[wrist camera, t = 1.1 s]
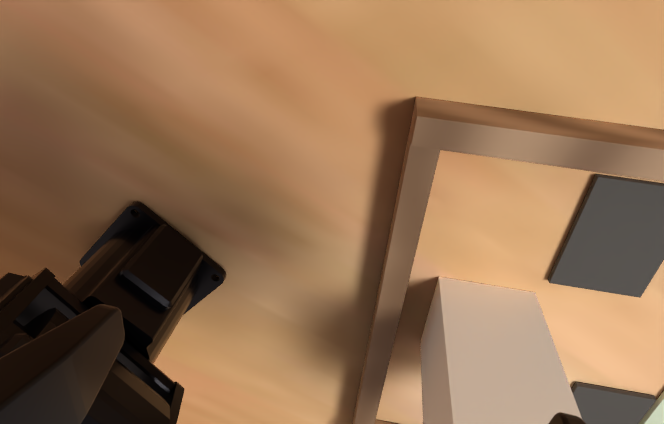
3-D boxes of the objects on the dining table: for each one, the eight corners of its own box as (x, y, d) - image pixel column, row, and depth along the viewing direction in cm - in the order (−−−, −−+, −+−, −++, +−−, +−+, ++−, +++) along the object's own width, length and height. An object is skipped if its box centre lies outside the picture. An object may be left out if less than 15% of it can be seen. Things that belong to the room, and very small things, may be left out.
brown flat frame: (351, 425, 31) (347, 460, 29) (416, 96, 19) (417, 116, 17) (740, 499, 29) (766, 543, 27) (1100, 188, 17) (1201, 223, 15)
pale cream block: (420, 341, 26) (429, 596, 16) (438, 276, 23) (464, 531, 13) (506, 356, 26) (572, 627, 15) (535, 292, 23) (637, 567, 13)
